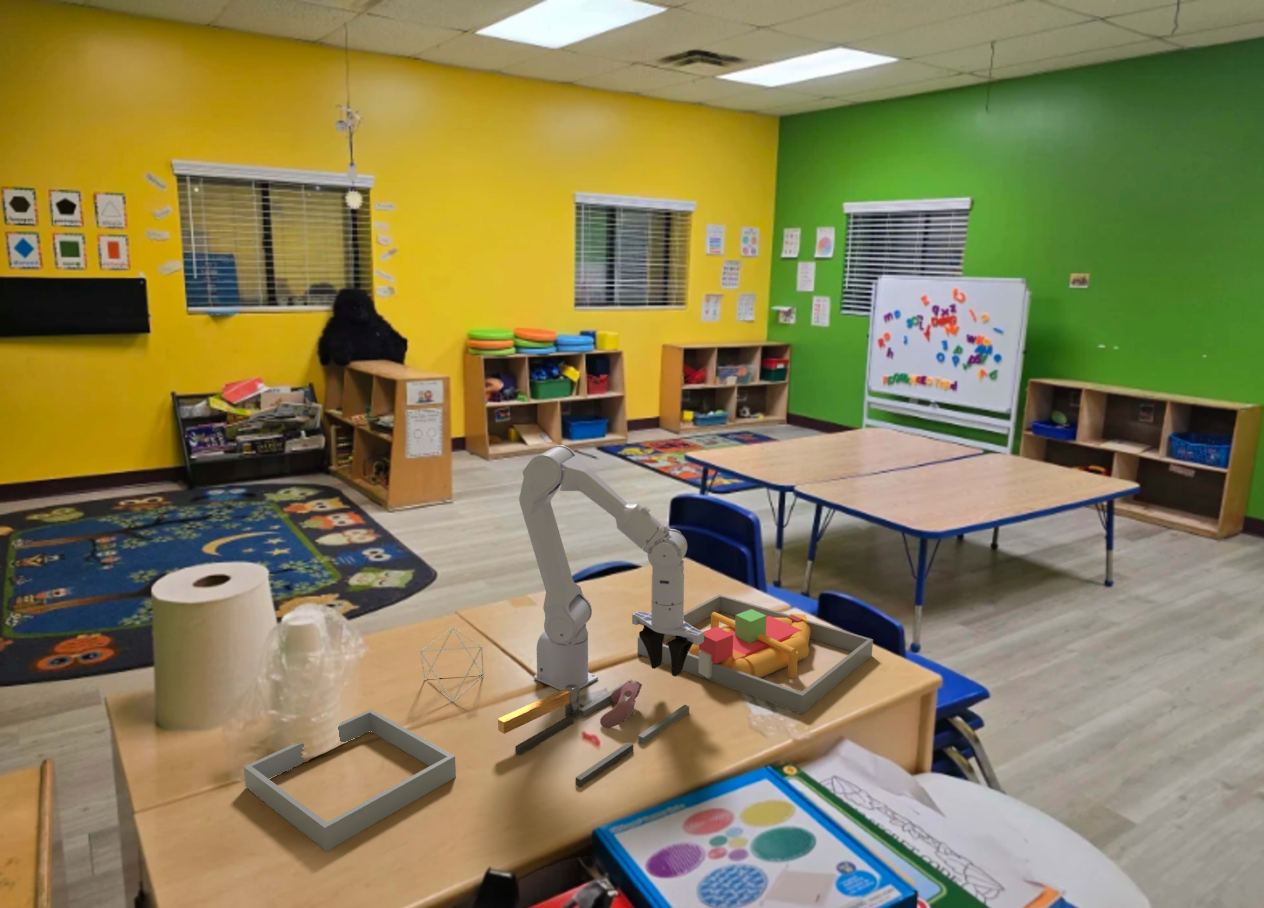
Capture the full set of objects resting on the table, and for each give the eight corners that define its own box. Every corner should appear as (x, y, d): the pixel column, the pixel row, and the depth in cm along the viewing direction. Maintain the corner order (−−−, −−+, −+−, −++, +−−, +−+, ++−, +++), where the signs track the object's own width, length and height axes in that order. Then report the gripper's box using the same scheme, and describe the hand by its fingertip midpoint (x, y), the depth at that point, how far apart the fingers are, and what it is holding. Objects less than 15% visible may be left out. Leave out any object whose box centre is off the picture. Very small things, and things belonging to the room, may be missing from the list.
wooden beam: (572, 709, 146) (572, 682, 145) (582, 714, 144) (582, 687, 143) (497, 746, 134) (496, 717, 133) (506, 752, 133) (505, 722, 132)
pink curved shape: (620, 739, 141) (639, 707, 139) (596, 725, 141) (615, 693, 139) (631, 709, 150) (649, 679, 148) (609, 696, 150) (626, 666, 148)
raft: (846, 653, 169) (849, 612, 167) (742, 702, 151) (743, 656, 148) (762, 616, 186) (764, 578, 184) (659, 656, 168) (659, 614, 166)
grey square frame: (245, 787, 124) (243, 766, 123) (372, 727, 140) (371, 708, 140) (326, 851, 111) (324, 827, 110) (455, 776, 127) (455, 755, 126)
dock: (515, 752, 133) (515, 746, 133) (627, 687, 155) (627, 681, 154) (580, 786, 125) (580, 779, 125) (689, 712, 146) (689, 706, 146)
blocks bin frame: (637, 653, 169) (637, 637, 168) (718, 608, 191) (719, 594, 190) (801, 713, 146) (802, 695, 145) (871, 655, 169) (873, 639, 168)
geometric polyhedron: (483, 700, 150) (482, 653, 148) (420, 704, 148) (418, 657, 146) (483, 669, 162) (482, 624, 160) (425, 672, 160) (423, 628, 158)
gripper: (714, 602, 147) (712, 674, 150) (649, 583, 156) (648, 651, 159) (691, 615, 142) (689, 688, 145) (624, 594, 151) (624, 664, 153)
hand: (666, 670), depth 151 cm, fingers open, 4 cm apart
